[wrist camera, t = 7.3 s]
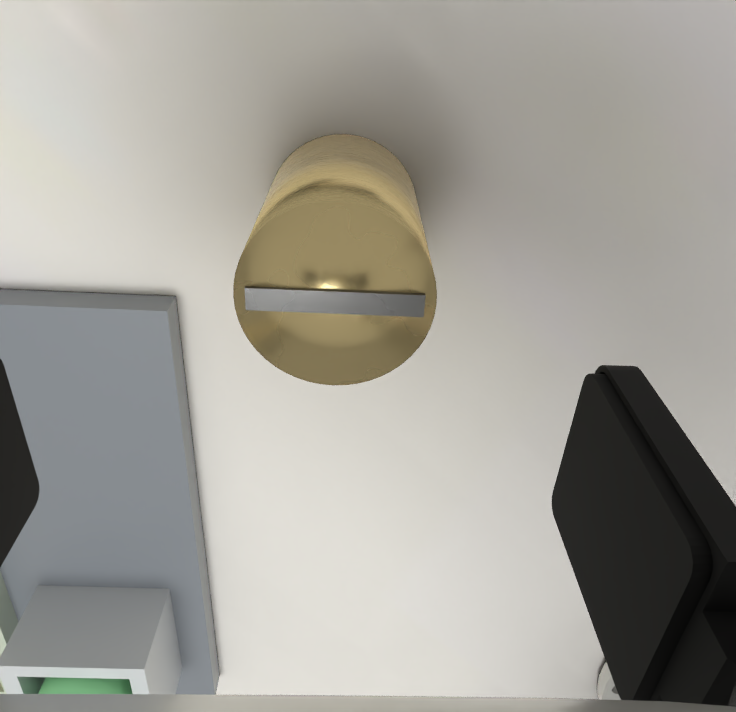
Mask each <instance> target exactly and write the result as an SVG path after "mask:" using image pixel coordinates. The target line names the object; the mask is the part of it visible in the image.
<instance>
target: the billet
mask: <svg viewBox="0 0 736 712" xmlns="http://www.w3.org/2000/svg"><path fill="white" fill-rule="evenodd" d="M436 299H437V290H436V281H435V277H434V272H433V268H432V264H431V259H430V255H429V251H428V246H427V242H426V238H425V234H424V229H423V225H422V221H421V216H420V212H419V208H418V203H417V199H416V195H415V191H414V187H413V184H412V181H411V179H410V176H409V175H408V173H407V171H406V169H405V168H404V166H403V165H402V164H401V162H400V161H399V160H398V159H397V158H396V157H395V156H394V155H393V154H392V153H391V152H390V151H389V150H387V149H386V148H385V147H383V146H381V145H380V144H378V143H376V142H374V141H372V140H369V139H367V138H364V137H360V136H356V135H348V134H334V135H328V136H323V137H320V138H316V139H314V140H312V141H309V142H307V143H305V144H304V145H302V146H301V147H299V148H298V149H296V150H295V151H294V152H293V153H292V154H291V155H290V156H289V157H288V158H287V159H286V160H285V161H284V163H283V164H282V166H281V167H280V169H279V170H278V172H277V174H276V176H275V178H274V181H273V183H272V185H271V188H270V190H269V192H268V195H267V197H266V199H265V202H264V204H263V206H262V209H261V211H260V213H259V216H258V218H257V220H256V223H255V225H254V227H253V230H252V232H251V234H250V237H249V239H248V241H247V243H246V246H245V248H244V250H243V253H242V255H241V257H240V260H239V263H238V266H237V269H236V272H235V279H234V304H235V310H236V313H237V317H238V320H239V322H240V325H241V327H242V329H243V331H244V333H245V335H246V336H247V338H248V340H249V341H250V342H251V344H252V345H253V346H254V347H255V349H256V350H257V351H258V352H259V353H260V354H261V355H262V356H263V357H264V358H265V359H266V360H268V361H269V362H270V363H271V364H273V365H274V366H275V367H277V368H279V369H280V370H282V371H284V372H286V373H288V374H290V375H292V376H294V377H297V378H299V379H302V380H306V381H309V382H313V383H318V384H326V385H349V384H357V383H361V382H365V381H370V380H372V379H375V378H378V377H380V376H383V375H385V374H386V373H388V372H390V371H392V370H394V369H395V368H397V367H398V366H400V365H401V364H402V363H404V362H405V361H406V360H407V359H408V358H409V357H411V355H412V354H413V353H414V352H415V351H416V350H417V349H418V348H419V346H420V345H421V343H422V342H423V340H424V339H425V337H426V335H427V333H428V331H429V329H430V327H431V324H432V321H433V318H434V314H435V309H436Z"/></svg>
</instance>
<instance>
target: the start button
mask: <svg viewBox="0 0 736 712" xmlns="http://www.w3.org/2000/svg"><path fill="white" fill-rule="evenodd" d="M38 694H133V693H132V689H131V684H130V680H129V679H101V678H57V677H45V680H44V682H43V684H42V686H41V688H40V691H39V693H38Z"/></svg>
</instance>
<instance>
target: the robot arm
mask: <svg viewBox="0 0 736 712" xmlns="http://www.w3.org/2000/svg"><path fill="white" fill-rule="evenodd" d="M38 498H39V481H38V477H37V474H36V471H35V467H34V464H33V461H32V457H31V454H30V451H29V447H28V444H27V441H26V437H25V434H24V431H23V427H22V424H21V421H20V417H19V414H18V411H17V407H16V404H15V400H14V397H13V394H12V390H11V387H10V384H9V380H8V377H7V374H6V370H5V367H4V364H3V362H2V360H1V359H0V567H1V565H2V564H3V562H4V560H5V558H6V557H7V555H8V553H9V551H10V550H11V548H12V546H13V544H14V543H15V541H16V539H17V538H18V536H19V534H20V532H21V531H22V529H23V527H24V525H25V524H26V522H27V520H28V518H29V517H30V515H31V513H32V511H33V510H34V508H35V506H36V504H37V501H38ZM552 510H553V515H554V518H555V521H556V523H557V526H558V529H559V532H560V534H561V537H562V540H563V543H564V546H565V548H566V551H567V554H568V557H569V559H570V562H571V565H572V568H573V571H574V573H575V576H576V579H577V582H578V584H579V587H580V590H581V593H582V595H583V598H584V601H585V604H586V607H587V609H588V612H589V615H590V618H591V620H592V623H593V626H594V629H595V632H596V634H597V637H598V640H599V643H600V645H601V648H602V651H603V654H604V656H605V659H606V662H605V664H604V666H603V668H602V671H601V673H600V675H599V679H598V685H597V692H598V698H599V699H566V698H510V697H427V696H335V695H189V694H0V712H736V506H735V505H734V503H733V502H732V500H731V499H730V498H729V496H728V495H727V493H726V492H725V490H724V489H723V488H722V486H721V485H720V483H719V482H718V480H717V479H716V477H715V476H714V475H713V473H712V472H711V470H710V469H709V467H708V466H707V465H706V463H705V462H704V460H703V459H702V457H701V456H700V455H699V453H698V452H697V450H696V449H695V447H694V446H693V444H692V443H691V442H690V440H689V439H688V437H687V436H686V434H685V433H684V432H683V430H682V429H681V427H680V426H679V424H678V423H677V421H676V420H675V419H674V417H673V416H672V414H671V413H670V411H669V410H668V409H667V407H666V406H665V404H664V403H663V401H662V400H661V398H660V397H659V396H658V394H657V393H656V391H655V390H654V388H653V387H652V386H651V384H650V383H649V381H648V380H647V378H646V377H645V376H644V374H643V373H642V371H641V370H640V369H639V368H638V367H635V366H610V365H602V366H600V367H598V369H597V370H596V372H595V374H588V375H586V377H585V379H584V381H583V385H582V388H581V392H580V396H579V399H578V403H577V407H576V410H575V414H574V418H573V421H572V425H571V428H570V432H569V436H568V439H567V443H566V447H565V450H564V454H563V457H562V461H561V465H560V468H559V472H558V476H557V479H556V483H555V487H554V490H553V495H552Z"/></svg>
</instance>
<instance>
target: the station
mask: <svg viewBox="0 0 736 712" xmlns="http://www.w3.org/2000/svg"><path fill="white" fill-rule="evenodd" d="M0 359H1V360H2V362H3V364H4V367H5V370H6V374H7V377H8V380H9V384H10V387H11V390H12V394H13V397H14V400H15V404H16V407H17V411H18V414H19V417H20V421H21V424H22V427H23V431H24V434H25V437H26V441H27V444H28V447H29V451H30V454H31V457H32V461H33V464H34V467H35V471H36V474H37V477H38V481H39V498H38V501H37V504H36V506H35V508H34V510H33V511H32V513H31V515H30V517H29V518H28V520H27V522H26V524H25V525H24V527H23V529H22V531H21V532H20V534H19V536H18V538H17V539H16V541H15V543H14V544H13V546H12V548H11V550H10V551H9V553H8V555H7V557H6V558H5V560H4V562H3V564H2V565H1V567H0V694H38V693H39V691H40V688H41V686H42V684H43V682H44V680H45V677H57V678H101V679H129V680H130V684H131V689H132V693H133V694H189V695H216V690H217V685H218V680H219V667H218V658H217V650H216V641H215V632H214V624H213V615H212V606H211V598H210V589H209V580H208V572H207V563H206V554H205V546H204V537H203V528H202V520H201V511H200V502H199V494H198V485H197V476H196V467H195V459H194V450H193V441H192V433H191V424H190V415H189V407H188V398H187V389H186V381H185V372H184V363H183V355H182V346H181V337H180V329H179V320H178V311H177V303H176V296H156V295H131V294H107V293H83V292H59V291H35V290H11V289H0Z"/></svg>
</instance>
